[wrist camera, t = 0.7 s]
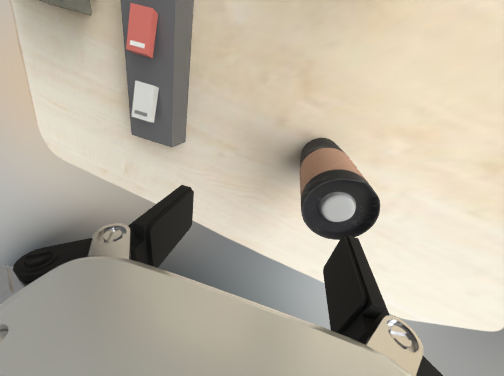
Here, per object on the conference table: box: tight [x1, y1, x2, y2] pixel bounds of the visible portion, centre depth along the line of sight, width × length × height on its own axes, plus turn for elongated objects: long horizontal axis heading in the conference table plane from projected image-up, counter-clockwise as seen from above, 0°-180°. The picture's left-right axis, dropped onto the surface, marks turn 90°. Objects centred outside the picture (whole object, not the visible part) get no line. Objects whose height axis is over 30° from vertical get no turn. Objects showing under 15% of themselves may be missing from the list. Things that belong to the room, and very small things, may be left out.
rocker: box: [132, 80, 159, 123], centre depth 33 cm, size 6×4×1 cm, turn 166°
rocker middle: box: [126, 3, 158, 58], centre depth 28 cm, size 6×4×1 cm, turn 166°
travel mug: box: [300, 138, 380, 240], centre depth 28 cm, size 8×8×20 cm
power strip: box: [121, 0, 194, 147], centre depth 30 cm, size 40×9×5 cm, turn 166°
